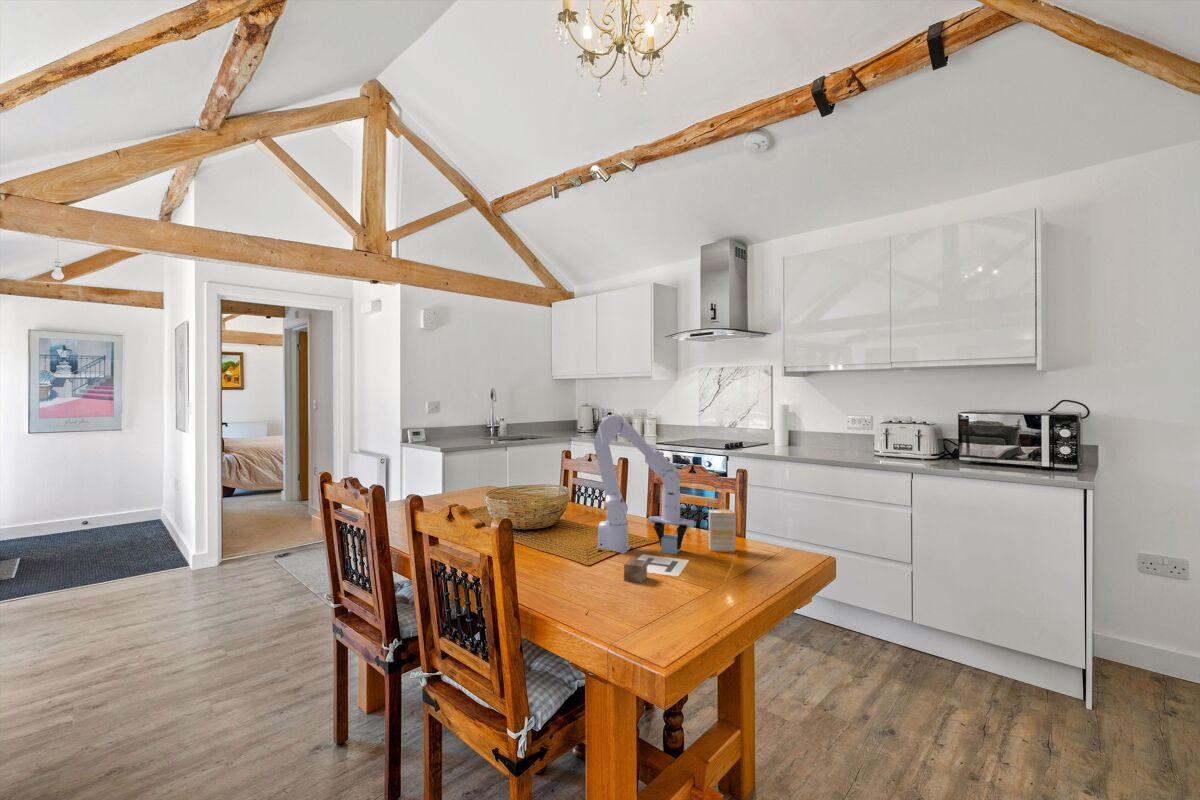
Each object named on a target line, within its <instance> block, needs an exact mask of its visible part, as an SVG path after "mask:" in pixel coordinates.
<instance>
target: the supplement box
mask: <svg viewBox="0 0 1200 800" xmlns="http://www.w3.org/2000/svg"><path fill="white" fill-rule="evenodd" d="M736 519H737V517H736V512H735V510H734V509H708V550H709V551H710V552H713V553H714V552H715V553H732V554H733V553H734V554H735V553H736V538H737V537H736V534H737V532H736Z"/></svg>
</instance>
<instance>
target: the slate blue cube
mask: <svg viewBox="0 0 1200 800" xmlns="http://www.w3.org/2000/svg"><path fill="white" fill-rule="evenodd" d="M677 544H678V534H668V533H667V534H666V533H664V536H663V537H662V538H661V547H660V553H662V554H670V555H677V554H679V552H680V551H681V548H680V549H677Z"/></svg>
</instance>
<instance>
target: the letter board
mask: <svg viewBox="0 0 1200 800" xmlns="http://www.w3.org/2000/svg"><path fill="white" fill-rule="evenodd" d="M637 560H644V561H647V574H648V573H650V574H657V575H665V576H671V577H679V576H680V575H681V573H682V572H683V570H684V569H685V567H686V566H687V564H688V563H689V561H690V560H689V559H683V558H675V557H668V556H667V557H666V556H660V555H659V556H658V555H650V554H643V553H642V554H641V555H640V556H639V557H638V558H637Z"/></svg>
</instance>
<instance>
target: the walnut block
mask: <svg viewBox="0 0 1200 800" xmlns="http://www.w3.org/2000/svg"><path fill="white" fill-rule="evenodd" d="M637 559H638V558H637ZM637 559H635V558H629V559H628V560H627V561H626V562H625V563H624V564H623V581H624V582H631V583H636V584H643V582H644V581H645V580H646V579H647V577H648V572H647V561H644V560H637Z"/></svg>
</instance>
